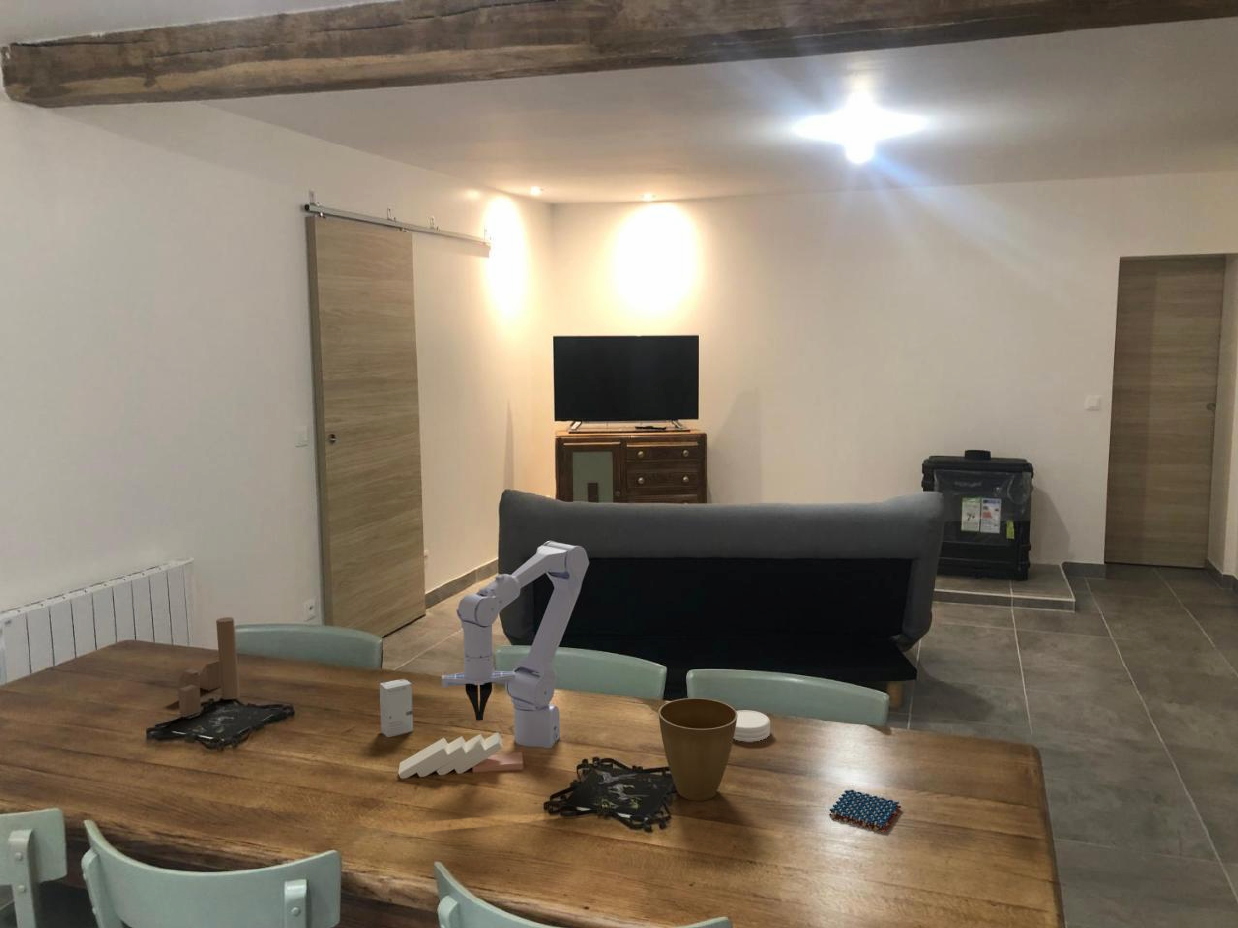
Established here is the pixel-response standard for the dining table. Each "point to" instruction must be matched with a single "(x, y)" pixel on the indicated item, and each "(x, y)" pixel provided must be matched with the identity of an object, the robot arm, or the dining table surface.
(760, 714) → the white round disc
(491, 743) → the domino
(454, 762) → the domino
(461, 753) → the domino
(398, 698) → the skincare box
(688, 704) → the plant pot
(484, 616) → the robot arm
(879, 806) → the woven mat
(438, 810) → the dining table surface
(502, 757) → the end domino
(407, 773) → the domino
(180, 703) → the wooden blocks
